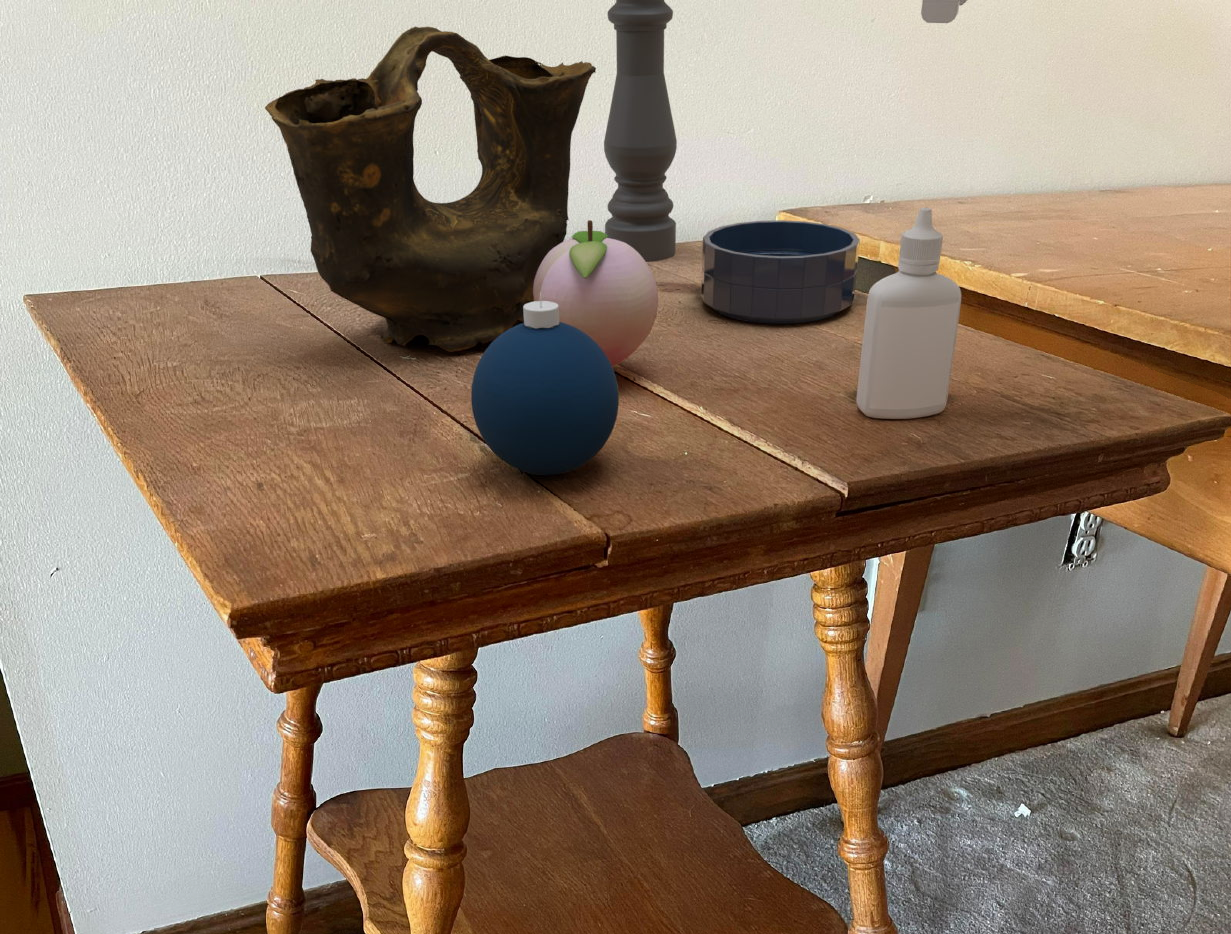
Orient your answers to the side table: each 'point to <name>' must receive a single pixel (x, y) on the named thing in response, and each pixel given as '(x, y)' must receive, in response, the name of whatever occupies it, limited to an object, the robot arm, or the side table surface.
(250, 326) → the side table surface
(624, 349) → the decorative fruit
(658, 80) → the candle holder
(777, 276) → the bowl
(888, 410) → the eye dropper bottle
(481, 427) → the christmas ornament
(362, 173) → the pottery vessel
